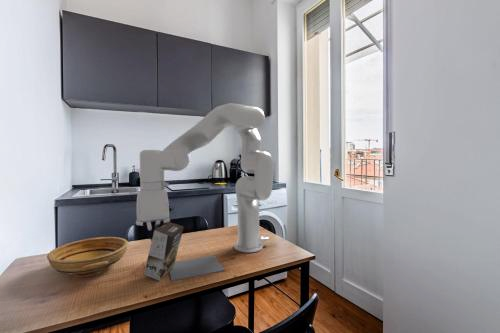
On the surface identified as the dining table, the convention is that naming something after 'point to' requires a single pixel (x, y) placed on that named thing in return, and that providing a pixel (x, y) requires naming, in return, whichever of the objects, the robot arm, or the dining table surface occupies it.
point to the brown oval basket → (87, 255)
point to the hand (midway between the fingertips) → (153, 240)
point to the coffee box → (163, 250)
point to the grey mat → (195, 268)
